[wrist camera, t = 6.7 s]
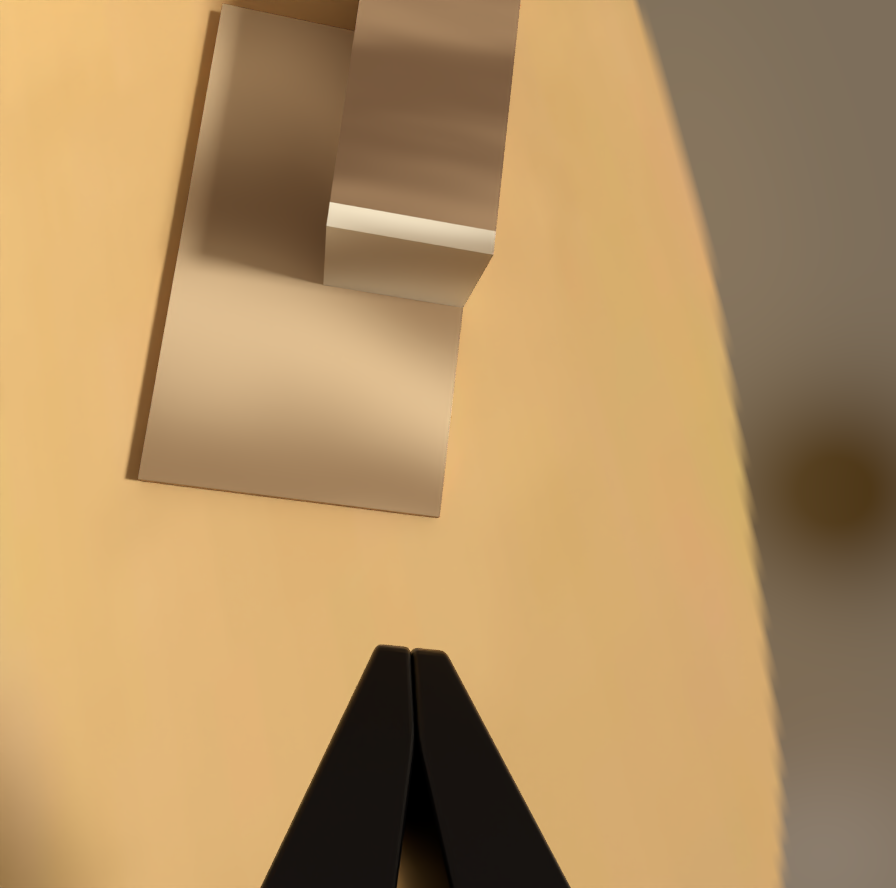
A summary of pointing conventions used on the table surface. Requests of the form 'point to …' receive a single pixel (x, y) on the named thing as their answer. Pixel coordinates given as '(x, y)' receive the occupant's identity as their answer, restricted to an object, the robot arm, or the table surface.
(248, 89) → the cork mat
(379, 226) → the walnut block
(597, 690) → the table surface
